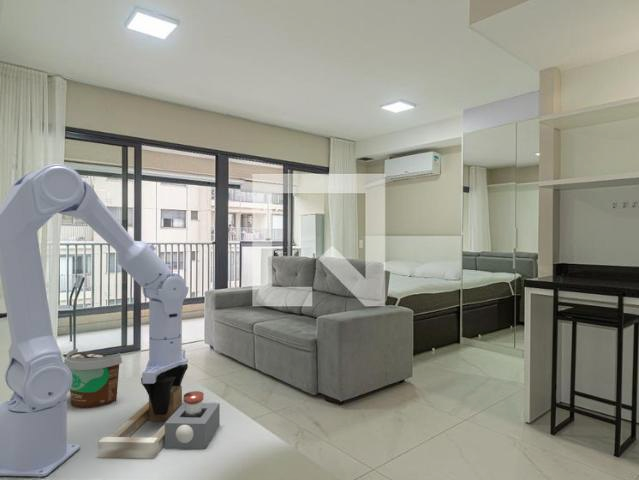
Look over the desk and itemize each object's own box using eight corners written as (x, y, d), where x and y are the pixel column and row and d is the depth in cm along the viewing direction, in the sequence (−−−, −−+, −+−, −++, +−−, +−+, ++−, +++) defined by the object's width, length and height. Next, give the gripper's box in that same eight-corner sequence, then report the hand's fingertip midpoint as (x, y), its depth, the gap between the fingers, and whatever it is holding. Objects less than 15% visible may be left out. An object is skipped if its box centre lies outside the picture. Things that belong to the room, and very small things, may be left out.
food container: (48, 406, 80) (48, 356, 80) (75, 395, 86) (75, 348, 86) (97, 414, 77) (97, 361, 77) (122, 401, 82) (122, 353, 82)
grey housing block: (164, 448, 64) (164, 423, 64) (183, 425, 72) (183, 402, 72) (204, 449, 64) (204, 424, 64) (219, 425, 72) (219, 403, 72)
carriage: (148, 420, 74) (148, 391, 74) (158, 411, 78) (158, 384, 78) (173, 421, 74) (173, 392, 74) (181, 411, 78) (181, 384, 78)
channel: (98, 457, 61) (98, 441, 61) (151, 408, 79) (151, 395, 79) (153, 458, 61) (153, 442, 61) (194, 408, 79) (194, 396, 79)
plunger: (180, 427, 66) (180, 398, 66) (187, 418, 70) (187, 391, 70) (199, 427, 66) (199, 398, 66) (206, 419, 69) (206, 391, 69)
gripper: (171, 346, 68) (171, 426, 68) (199, 328, 83) (199, 394, 83) (130, 346, 69) (130, 426, 69) (165, 327, 83) (165, 393, 83)
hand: (165, 408), depth 76 cm, fingers closed on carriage, 4 cm apart
